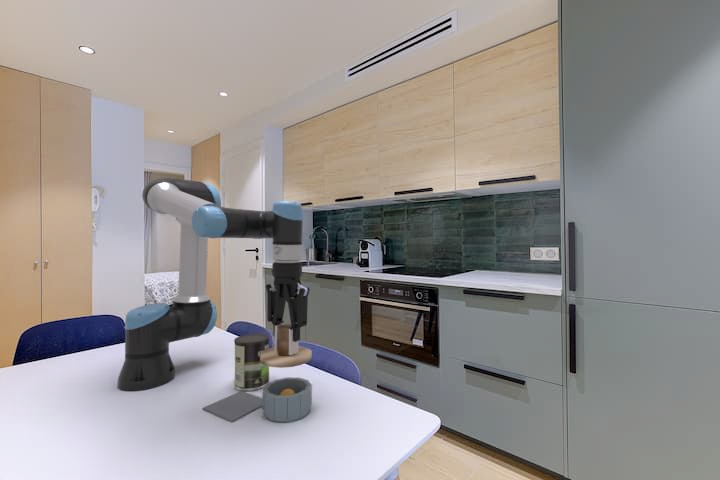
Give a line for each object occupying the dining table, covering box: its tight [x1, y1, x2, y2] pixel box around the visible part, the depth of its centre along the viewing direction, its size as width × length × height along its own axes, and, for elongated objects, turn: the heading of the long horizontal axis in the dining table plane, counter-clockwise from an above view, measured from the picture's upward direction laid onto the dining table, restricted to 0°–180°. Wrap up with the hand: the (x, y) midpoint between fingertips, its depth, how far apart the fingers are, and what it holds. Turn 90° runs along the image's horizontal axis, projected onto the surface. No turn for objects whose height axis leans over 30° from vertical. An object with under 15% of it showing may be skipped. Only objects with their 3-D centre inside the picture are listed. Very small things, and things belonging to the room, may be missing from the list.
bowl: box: [262, 376, 313, 424], centre depth 85 cm, size 12×12×6 cm
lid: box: [260, 323, 313, 369], centre depth 86 cm, size 13×13×8 cm
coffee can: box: [233, 333, 270, 392], centre depth 102 cm, size 10×10×14 cm
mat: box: [202, 390, 263, 423], centre depth 88 cm, size 12×12×1 cm
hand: (286, 351), depth 86 cm, fingers closed on lid, 4 cm apart
